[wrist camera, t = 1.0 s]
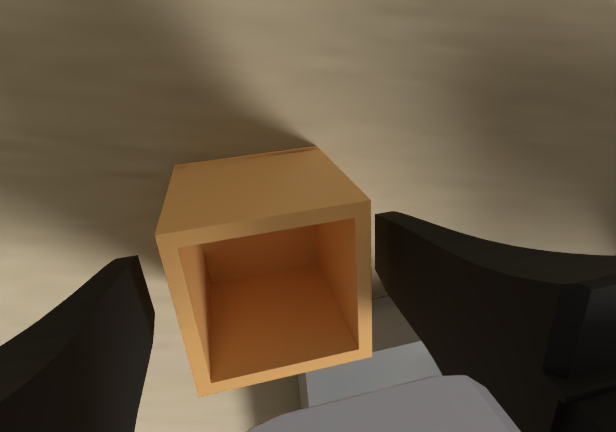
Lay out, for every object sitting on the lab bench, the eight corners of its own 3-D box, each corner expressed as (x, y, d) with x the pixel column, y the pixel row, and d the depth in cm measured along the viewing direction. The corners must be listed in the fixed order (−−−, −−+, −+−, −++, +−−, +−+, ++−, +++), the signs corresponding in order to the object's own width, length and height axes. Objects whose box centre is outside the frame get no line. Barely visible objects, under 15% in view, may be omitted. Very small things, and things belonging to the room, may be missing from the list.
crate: (504, 271, 19) (552, 310, 16) (480, 421, 23) (515, 470, 21) (290, 316, 17) (304, 367, 14) (308, 468, 21) (322, 530, 19)
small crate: (316, 145, 14) (370, 199, 9) (324, 262, 17) (372, 356, 12) (174, 164, 14) (154, 235, 9) (202, 285, 16) (198, 397, 11)
